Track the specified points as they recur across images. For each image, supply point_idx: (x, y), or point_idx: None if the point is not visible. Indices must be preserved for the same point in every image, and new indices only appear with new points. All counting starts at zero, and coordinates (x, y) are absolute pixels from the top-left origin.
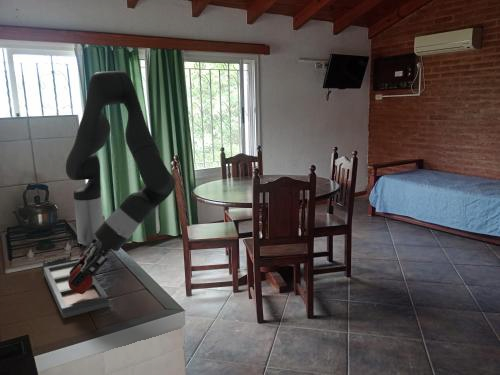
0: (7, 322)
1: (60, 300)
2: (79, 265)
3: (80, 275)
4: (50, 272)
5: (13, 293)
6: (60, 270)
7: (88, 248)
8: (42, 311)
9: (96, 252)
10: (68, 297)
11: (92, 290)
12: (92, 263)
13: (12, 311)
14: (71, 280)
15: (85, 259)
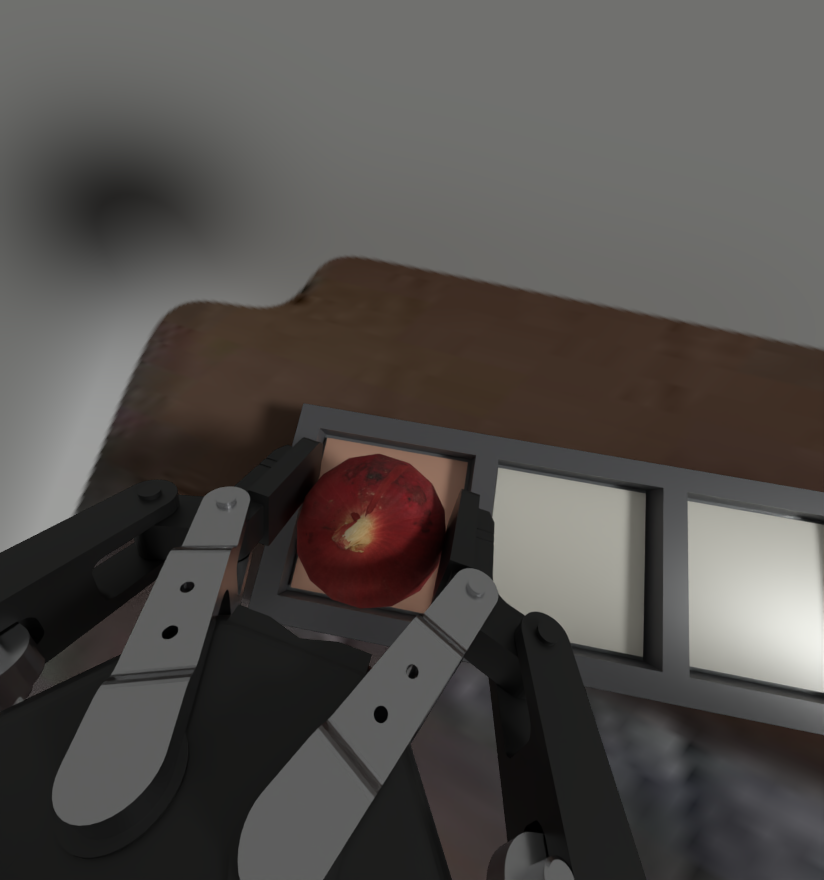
0: (433, 278)
1: (385, 425)
2: (347, 527)
3: (241, 484)
4: (778, 506)
5: (678, 348)
6: (813, 575)
7: (404, 733)
8: (431, 382)
9: (14, 722)
10: (428, 478)
11: (423, 601)
12: (7, 558)
13: (508, 308)
14: (308, 443)
15: (224, 563)
